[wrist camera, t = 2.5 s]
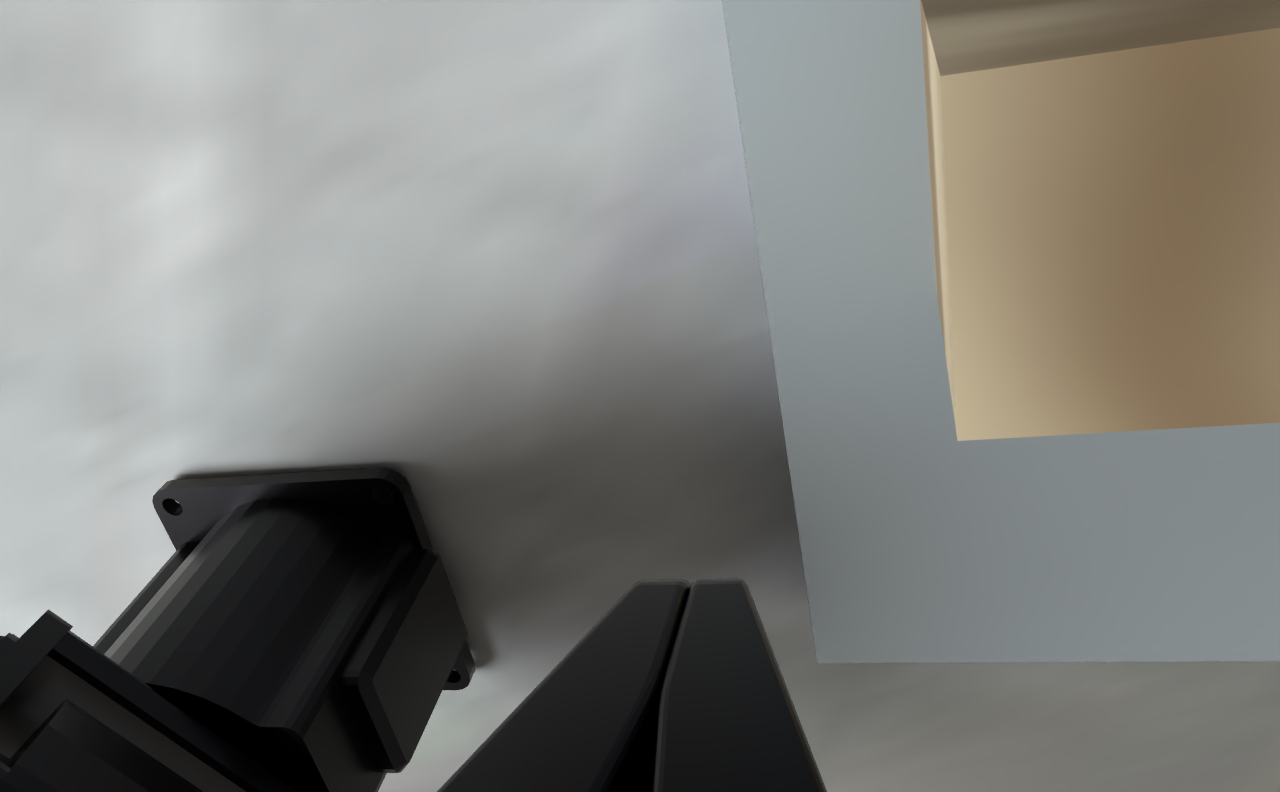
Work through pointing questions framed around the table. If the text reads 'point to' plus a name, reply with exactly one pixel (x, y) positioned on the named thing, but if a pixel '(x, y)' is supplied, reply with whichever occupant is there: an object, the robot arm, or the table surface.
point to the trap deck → (923, 412)
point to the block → (1105, 212)
